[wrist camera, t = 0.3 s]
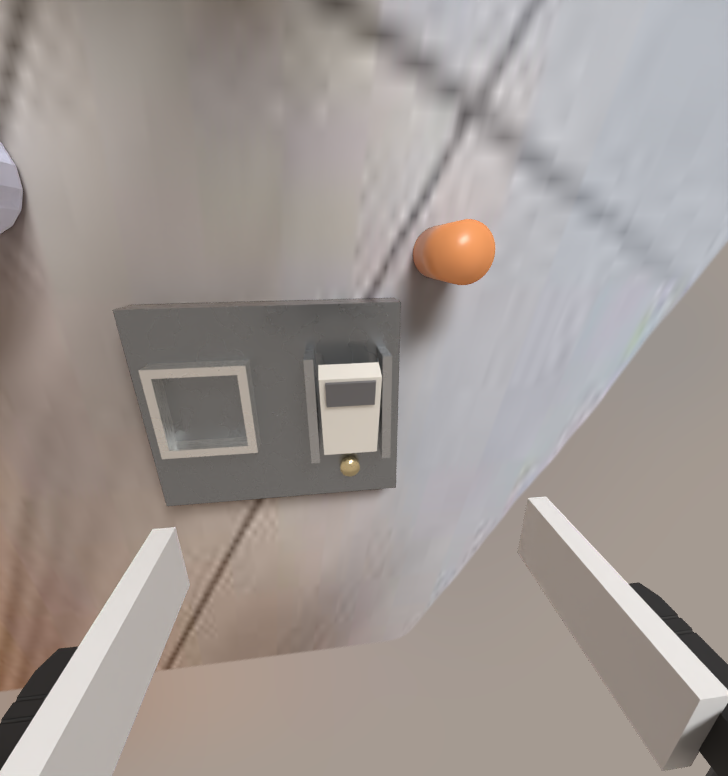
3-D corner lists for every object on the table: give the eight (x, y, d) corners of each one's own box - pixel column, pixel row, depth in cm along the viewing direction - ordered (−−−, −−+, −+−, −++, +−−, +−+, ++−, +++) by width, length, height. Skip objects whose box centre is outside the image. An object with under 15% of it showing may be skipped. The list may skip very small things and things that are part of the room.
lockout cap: (414, 226, 31) (437, 219, 25) (463, 225, 32) (498, 219, 25) (412, 279, 33) (433, 285, 27) (458, 278, 33) (491, 284, 27)
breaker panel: (131, 304, 31) (88, 316, 25) (394, 297, 33) (409, 307, 28) (178, 487, 38) (152, 529, 33) (390, 471, 41) (402, 507, 35)
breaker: (318, 364, 28) (318, 382, 27) (378, 362, 29) (382, 378, 27) (323, 439, 34) (324, 457, 32) (373, 435, 35) (377, 453, 33)
